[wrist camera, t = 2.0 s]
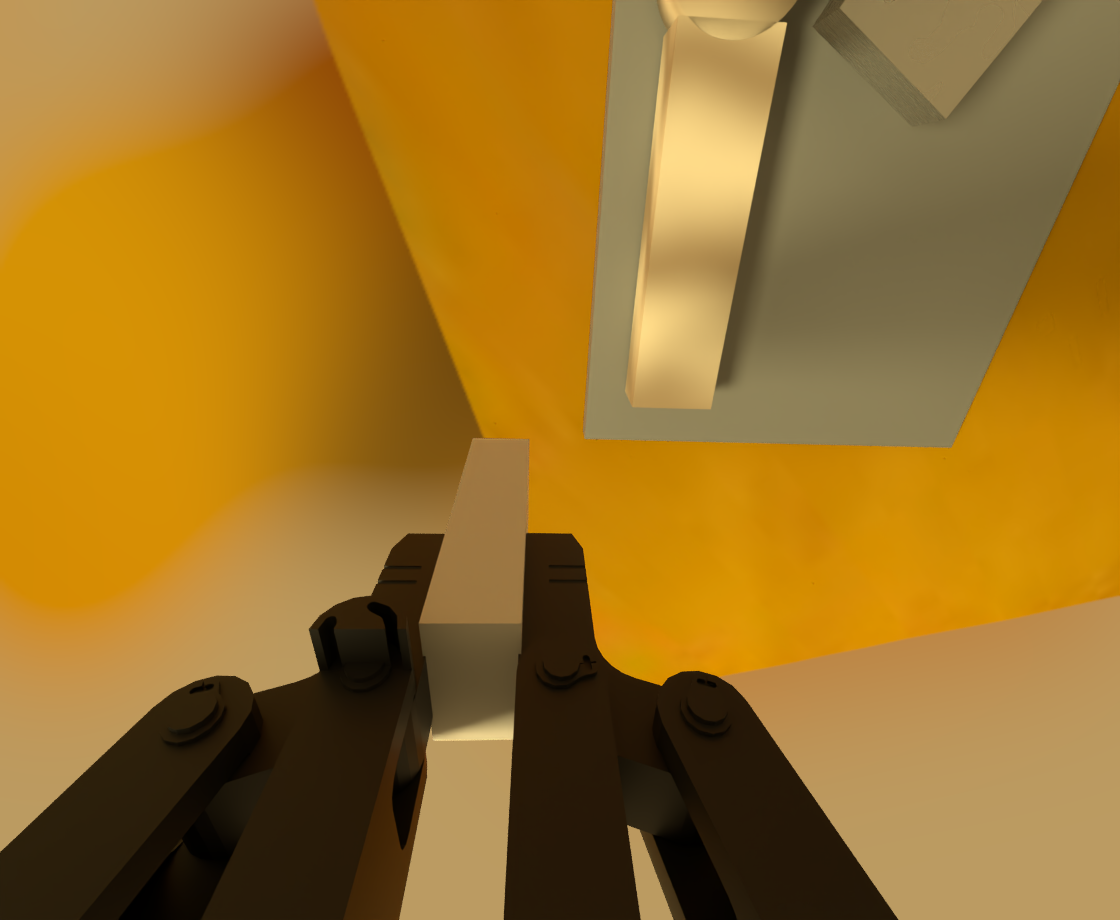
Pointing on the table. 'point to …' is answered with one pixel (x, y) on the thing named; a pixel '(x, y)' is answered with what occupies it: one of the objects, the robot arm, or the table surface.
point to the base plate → (856, 234)
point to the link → (700, 191)
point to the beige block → (922, 47)
